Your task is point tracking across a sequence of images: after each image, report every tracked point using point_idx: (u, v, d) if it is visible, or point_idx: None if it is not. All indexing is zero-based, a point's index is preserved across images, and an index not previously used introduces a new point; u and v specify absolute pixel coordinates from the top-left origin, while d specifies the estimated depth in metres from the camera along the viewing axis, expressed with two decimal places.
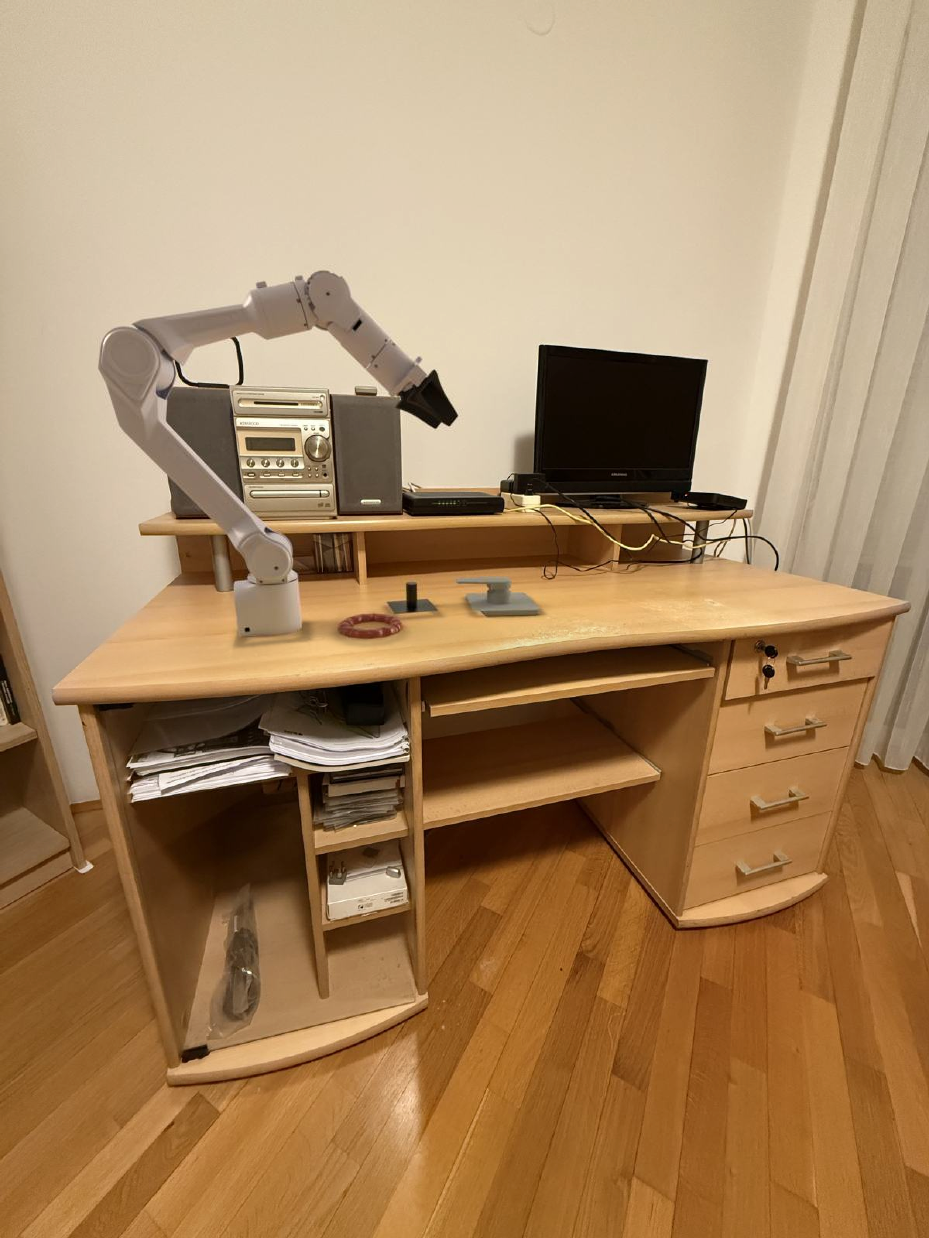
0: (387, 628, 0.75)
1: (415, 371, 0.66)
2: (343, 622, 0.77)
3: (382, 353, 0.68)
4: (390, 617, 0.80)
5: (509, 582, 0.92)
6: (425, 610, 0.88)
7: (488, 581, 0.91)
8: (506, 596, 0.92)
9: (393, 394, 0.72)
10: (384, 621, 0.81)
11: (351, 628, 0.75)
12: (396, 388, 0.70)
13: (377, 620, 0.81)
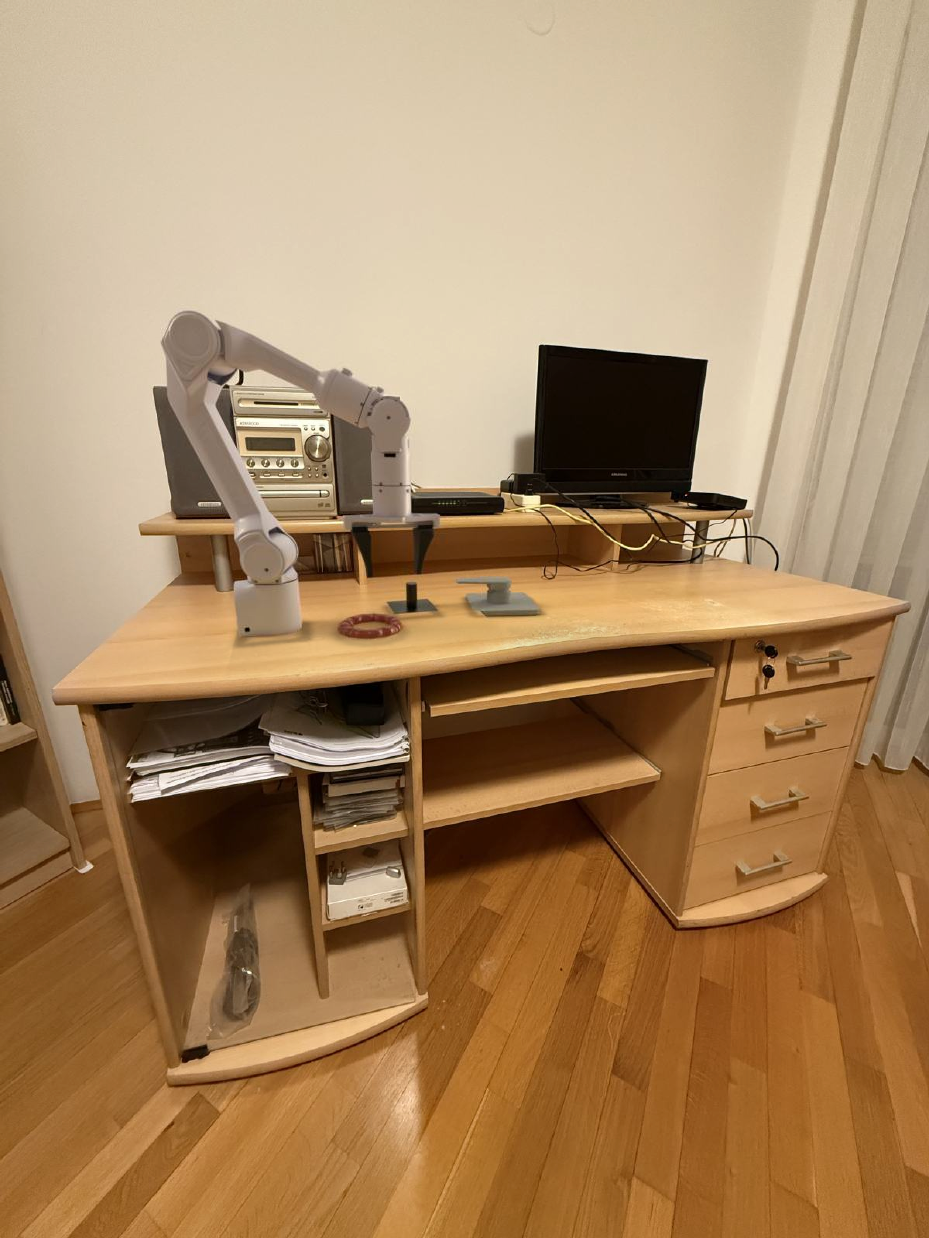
0: (387, 628, 0.75)
1: (343, 519, 0.72)
2: (343, 622, 0.77)
3: (372, 487, 0.72)
4: (390, 617, 0.80)
5: (509, 582, 0.92)
6: (425, 610, 0.88)
7: (488, 581, 0.91)
8: (506, 596, 0.92)
9: None
10: (384, 621, 0.81)
11: (351, 628, 0.75)
12: (372, 515, 0.75)
13: (377, 620, 0.81)
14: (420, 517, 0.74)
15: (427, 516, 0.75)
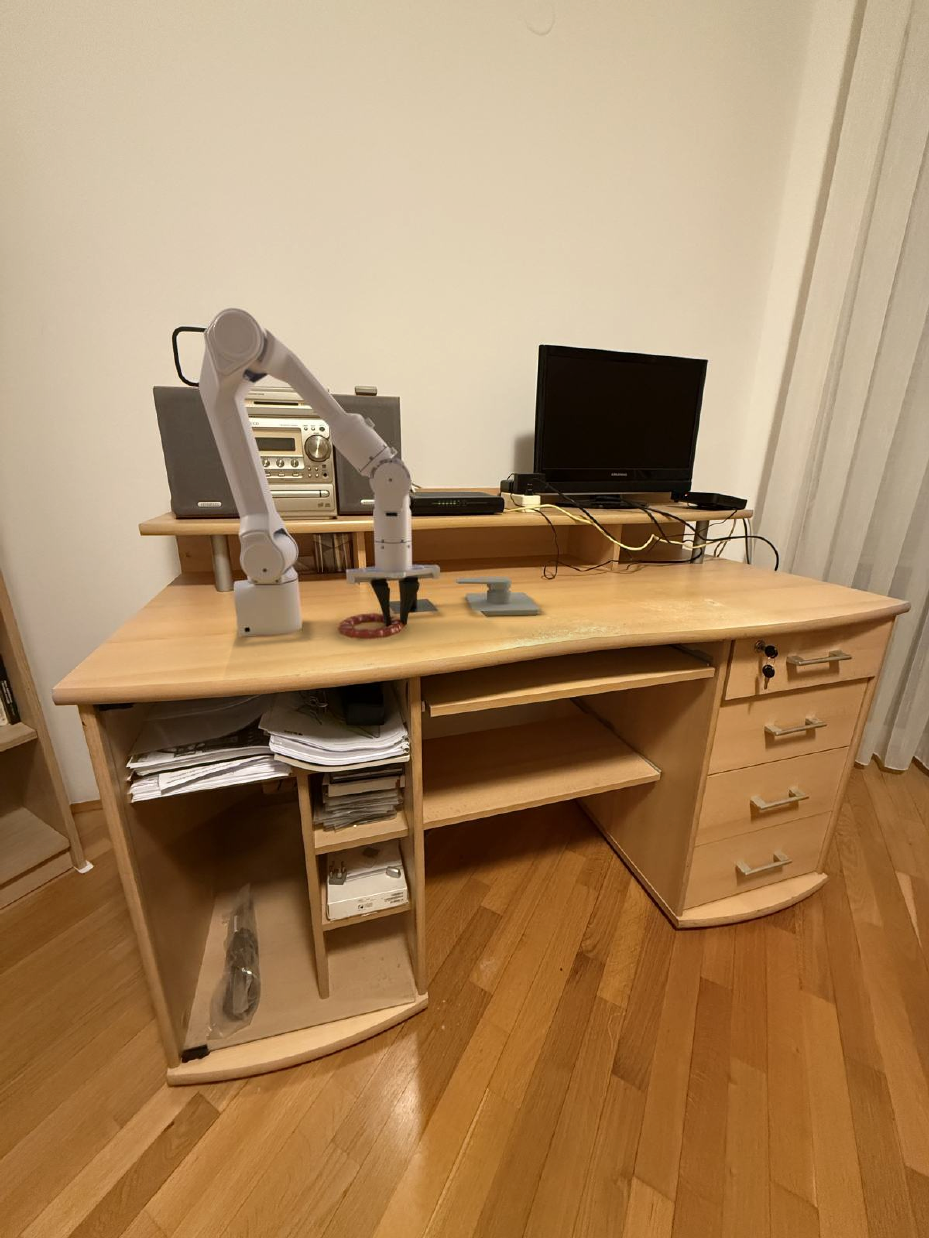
0: (387, 628, 0.75)
1: (346, 573, 0.75)
2: (343, 622, 0.77)
3: (374, 543, 0.75)
4: None
5: (509, 582, 0.92)
6: (425, 610, 0.88)
7: (488, 581, 0.91)
8: (506, 596, 0.92)
9: None
10: None
11: (351, 628, 0.75)
12: (374, 567, 0.78)
13: (377, 620, 0.81)
14: (421, 570, 0.76)
15: (427, 569, 0.77)
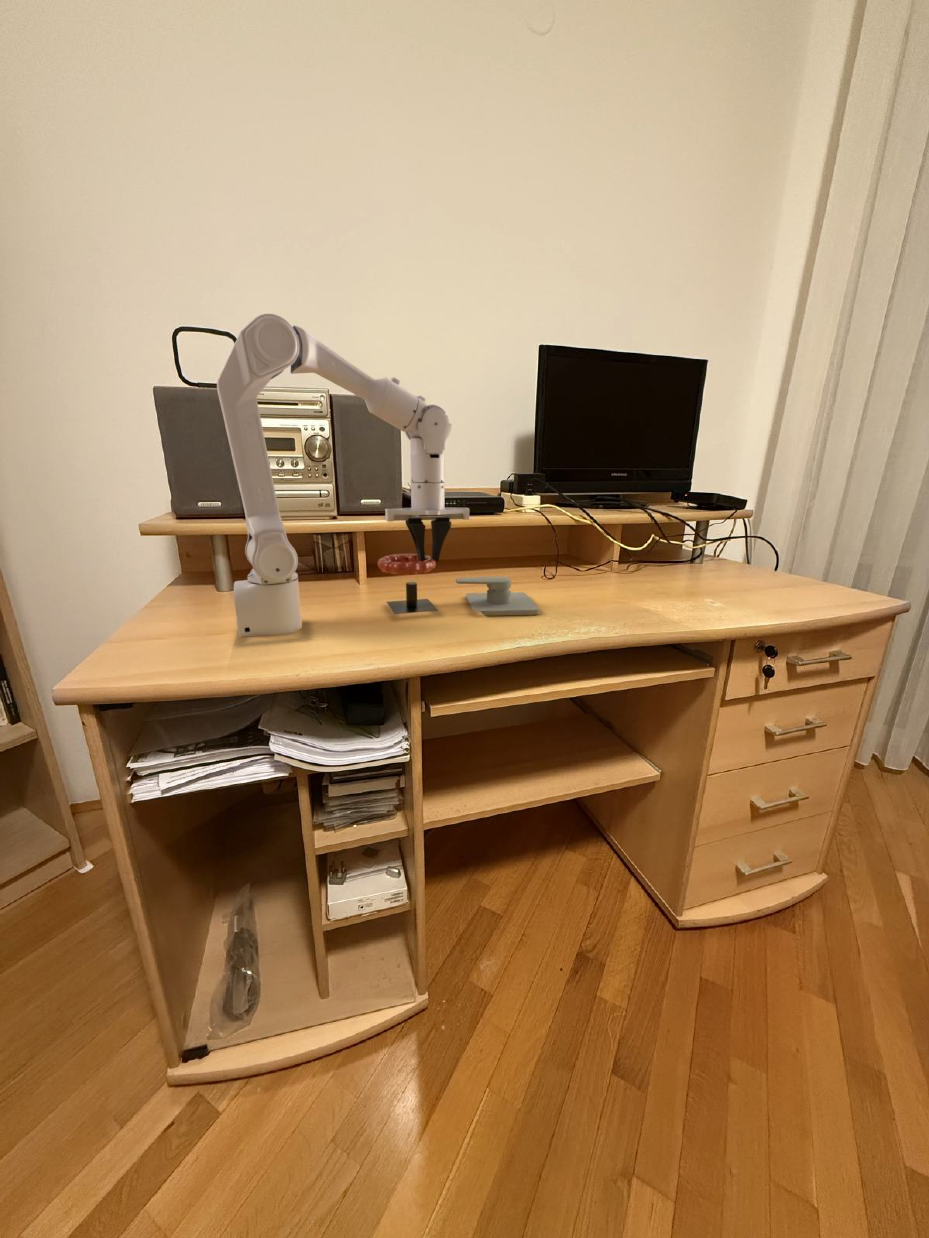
0: (423, 562, 0.83)
1: (386, 512, 0.82)
2: (382, 558, 0.85)
3: (411, 484, 0.82)
4: None
5: (509, 582, 0.92)
6: (425, 610, 0.88)
7: (488, 581, 0.91)
8: (506, 596, 0.92)
9: None
10: None
11: (390, 562, 0.83)
12: (409, 509, 0.86)
13: (411, 559, 0.89)
14: (452, 510, 0.84)
15: (458, 509, 0.85)
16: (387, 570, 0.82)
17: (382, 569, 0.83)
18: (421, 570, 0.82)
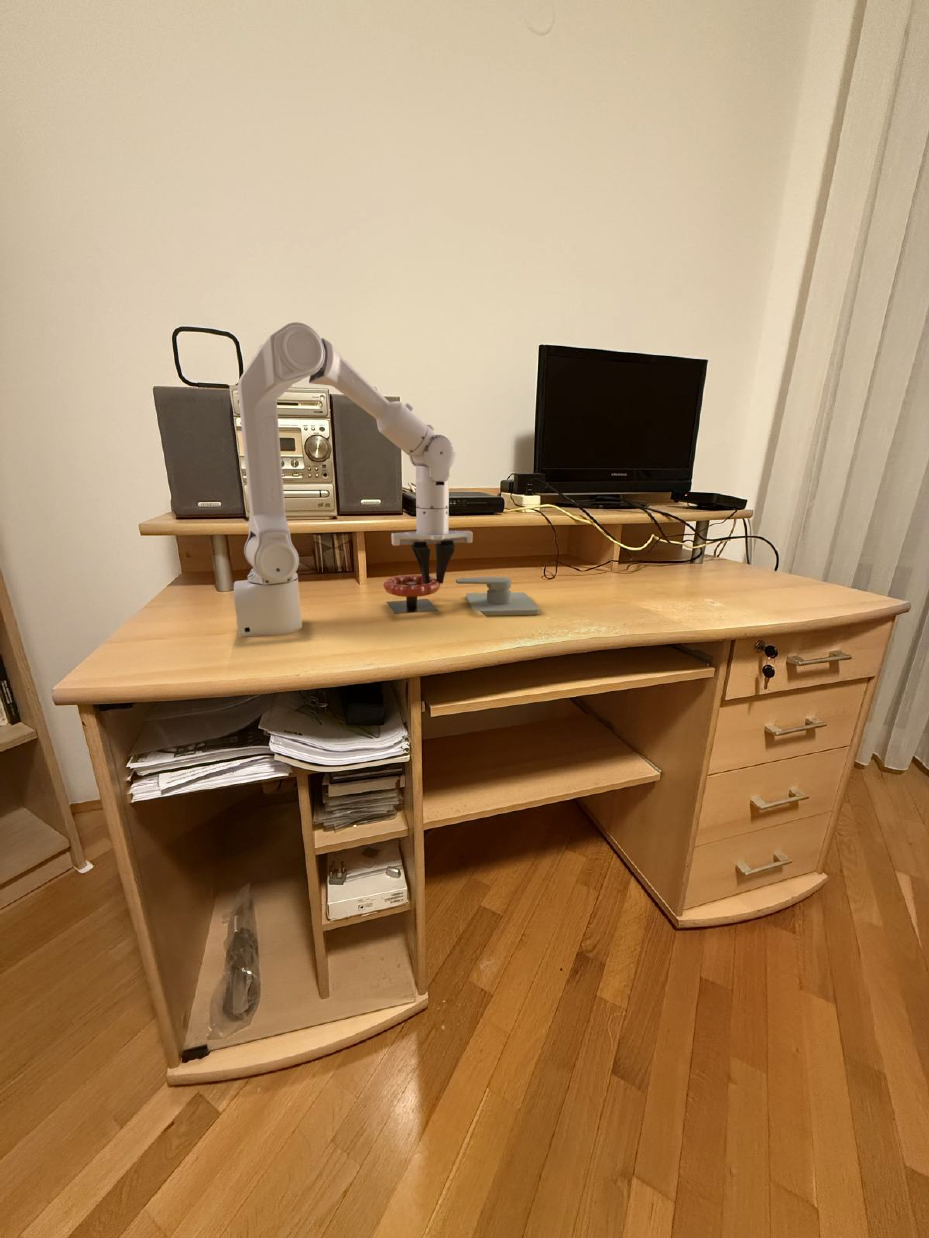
0: (428, 584, 0.86)
1: (392, 536, 0.85)
2: (388, 580, 0.88)
3: (416, 509, 0.85)
4: None
5: (509, 582, 0.92)
6: (425, 610, 0.88)
7: (488, 581, 0.91)
8: (506, 596, 0.92)
9: None
10: None
11: (396, 584, 0.85)
12: (414, 532, 0.89)
13: (416, 580, 0.92)
14: (456, 534, 0.87)
15: (462, 533, 0.88)
16: (393, 592, 0.85)
17: (388, 591, 0.86)
18: (426, 593, 0.85)
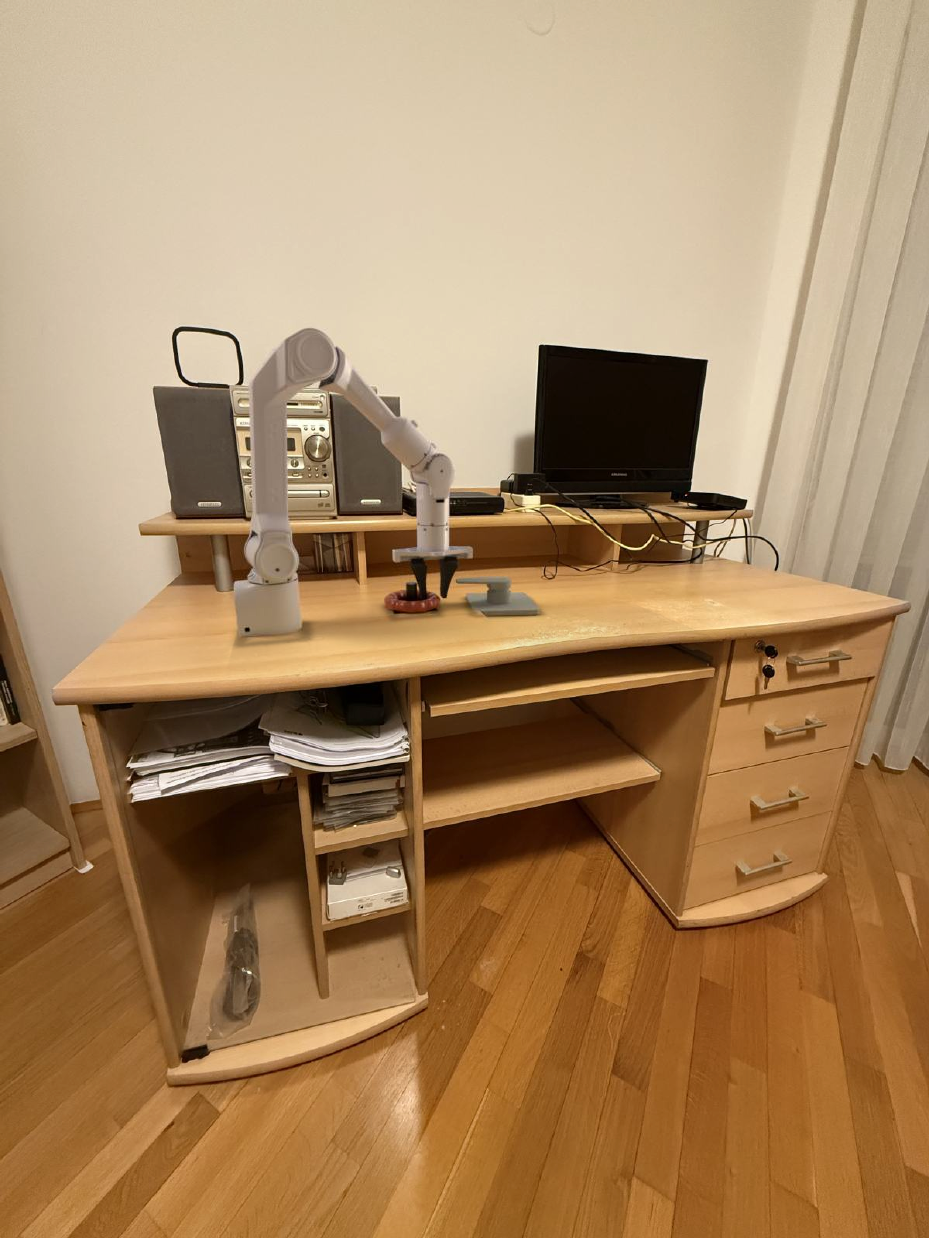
0: (428, 600, 0.87)
1: (393, 553, 0.86)
2: (389, 596, 0.89)
3: (417, 526, 0.86)
4: (428, 592, 0.92)
5: (509, 582, 0.92)
6: None
7: (488, 581, 0.91)
8: (506, 596, 0.92)
9: None
10: None
11: (397, 600, 0.86)
12: (415, 548, 0.90)
13: None
14: (457, 550, 0.88)
15: (462, 549, 0.89)
16: (394, 608, 0.86)
17: (389, 607, 0.87)
18: (426, 609, 0.86)
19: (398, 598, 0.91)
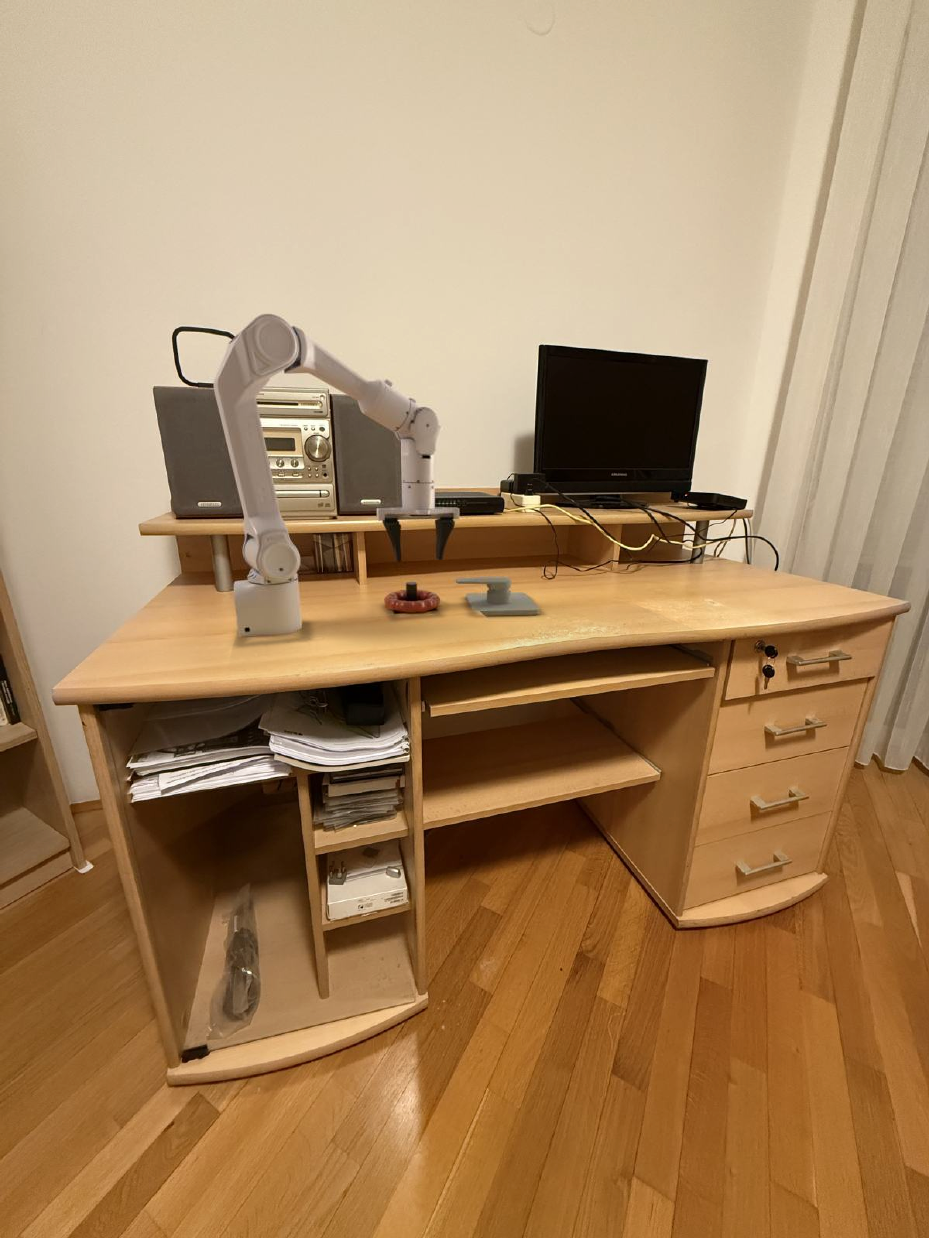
0: (428, 600, 0.87)
1: (377, 511, 0.84)
2: (389, 596, 0.89)
3: None
4: (428, 592, 0.92)
5: (509, 582, 0.92)
6: None
7: (488, 581, 0.91)
8: (506, 596, 0.92)
9: None
10: (423, 596, 0.92)
11: (397, 600, 0.86)
12: None
13: None
14: (442, 510, 0.86)
15: (448, 509, 0.87)
16: (394, 608, 0.86)
17: (389, 607, 0.87)
18: (426, 609, 0.86)
19: (398, 598, 0.91)
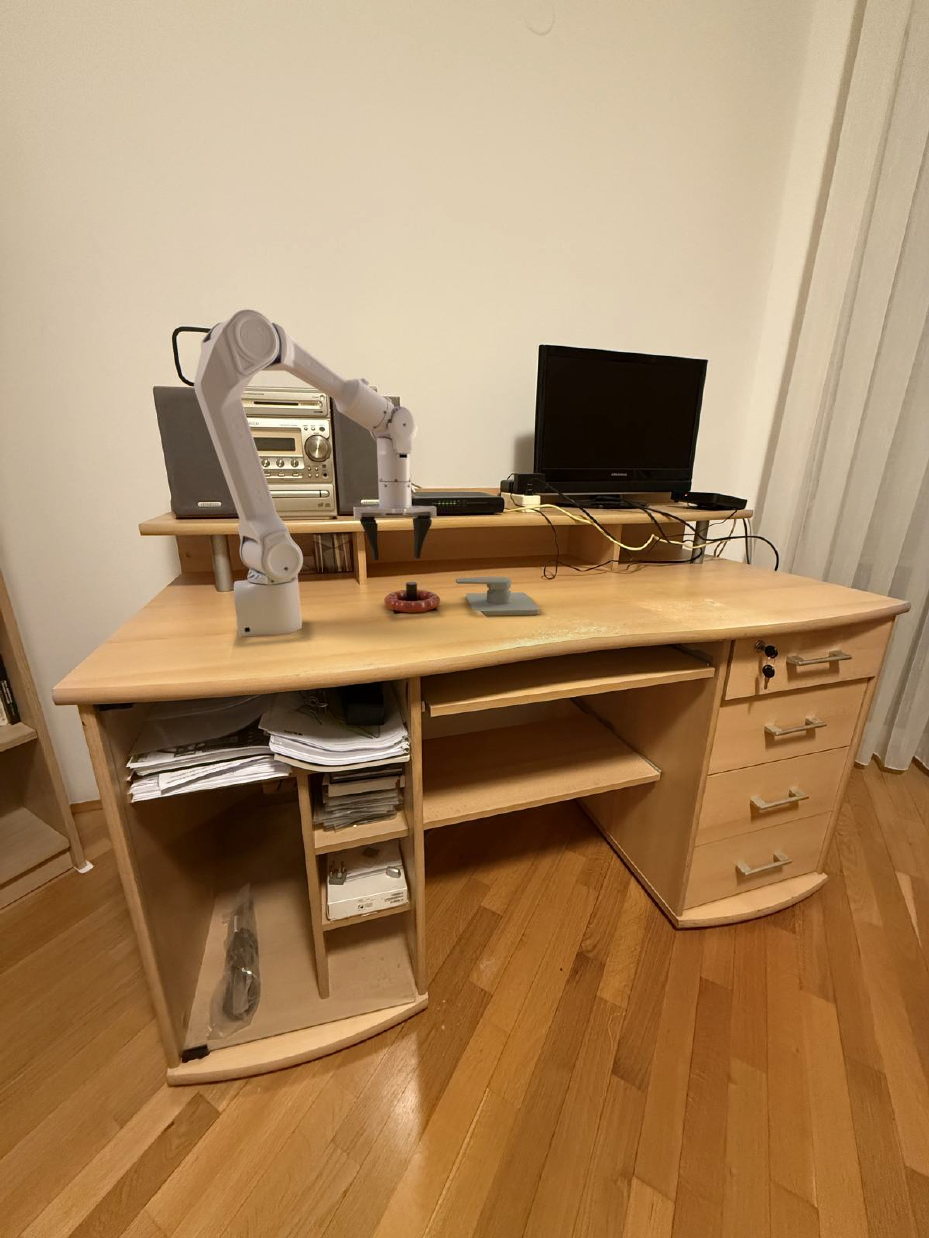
0: (428, 600, 0.87)
1: (354, 510, 0.85)
2: (389, 596, 0.89)
3: (378, 483, 0.85)
4: (428, 592, 0.92)
5: (509, 582, 0.92)
6: None
7: (488, 581, 0.91)
8: (506, 596, 0.92)
9: None
10: (423, 596, 0.92)
11: (397, 600, 0.86)
12: (378, 507, 0.88)
13: None
14: (419, 509, 0.86)
15: (425, 508, 0.87)
16: (394, 608, 0.86)
17: (389, 607, 0.87)
18: (426, 609, 0.86)
19: (398, 598, 0.91)
